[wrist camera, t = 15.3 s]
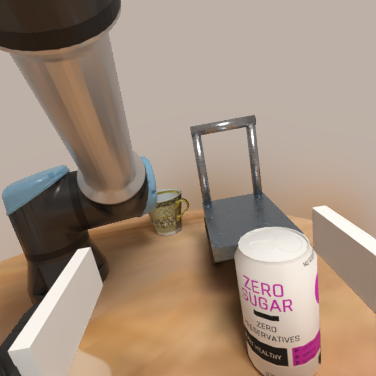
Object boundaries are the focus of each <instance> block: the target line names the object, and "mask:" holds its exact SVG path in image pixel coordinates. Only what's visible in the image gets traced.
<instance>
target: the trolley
mask: <svg viewBox="0 0 376 376" xmlns="http://www.w3.org/2000/svg"><path fill="white" fill-rule="evenodd" d="M255 125H256V118H255V116H254V115H252V116H246V117H241V118H235V119H230V120H224V121H219V122H214V123H208V124H203V125H198V126H192V127H190V129H191V135H192V140H193V146H194V152H195V157H196V163H197V169H198V175H199V181H200V186H201V192H202V198H203V203H202V204H203V210H204V215H205V217H204V222H205V228H206V234H207V239H208V245H209V250H210V255H211V260H212V264H213V263H218V262H224V261H225V260H230V259H234V254H235V252H236V250H237V248H238V242H239V240H240V238H241V237H242V236H243V235H245V234H246V233H248V232H250V231H253V230H255V229H259V228H264V227H283V228H289V229H293V230H296V231H298V232H300V233H302V234H303V232H302V231H301V230H300V229H299V228H298V227H297V226H296V225H295V224H294V223H293V222H292V221H291V220H290V219H289V218H288V217H287V216H286V215H285V214H284V213H282V211H281V210H280V209H279V208H278V207H277V206H276V205H275V204H274V203H273V202H272V201H271V200H270V199H269V198H268V197H267V196H266V195H265V194H264V193H263V192H262V187H261V177H260V168H259V158H258V148H257V139H256V129H255ZM242 127H246V130H247V139H248V147H249V157H250V166H251V174H252V182H253V192H254V194H249V195H243V196H237V197H231V198H226V199H220V200H215V201H211V196H210V190H209V184H208V178H207V172H206V165H205V159H204V153H203V147H202V141H201V135H204V134H210V133H215V132H221V131H226V130H231V129H237V128H242Z"/></svg>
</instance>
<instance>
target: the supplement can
mask: <svg viewBox="0 0 376 376" xmlns="http://www.w3.org/2000/svg"><path fill="white" fill-rule="evenodd" d="M234 259H235V266H236V273H237V280H238V287H239V293H240V300H241V307H242V314H243V321H244V328H245V335H246V341H247V348H248V355H249V357H250V359H251V361H252V363H253V365H254V366H255V367H256V368H257V369H258V370H259V371H260V372H261V373H262V374H263V375H264V376H314V375H315V374H316V373H317V371H318V369H319V367H320V365H321V341H320V317H319V292H318V268H317V254H316V253H315V251H314V250H313V248H312V247H311V246H310V243H309V240H308V239H307V237H306V236H305V235H303V234H302V233H300V232H298V231H296V230H293V229H289V228H283V227H264V228H259V229H255V230H253V231H250V232H248V233H246V234H245V235H243V236H242V237H241V238H240V240H239V242H238V248H237V250H236V252H235V254H234Z"/></svg>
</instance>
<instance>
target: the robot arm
mask: <svg viewBox="0 0 376 376" xmlns="http://www.w3.org/2000/svg"><path fill="white" fill-rule="evenodd" d="M120 12H121V1H120V0H0V50H2V51H5V52H9V53H10V55H11V56H12V58H13V60H14V61H15V63H16V65H17V66H18V68H19V70H20V71H21V73H22V75H23V76H24V78H25V80H26V81H27V83H28V85H29V86H30V88H31V89H32V91H33V93H34V95H35V96H36V98H37V100H38V101H39V103H40V105H41V106H42V108H43V110H44V111H45V113H46V115H47V116H48V118H49V120H50V121H51V123H52V125H53V126H54V128H55V129H56V131H57V133H58V134H59V136H60V138H61V140H62V141H63V143H64V145H65V146H66V148H67V150H68V151H69V153H70V154H71V156H72V158H73V159H74V161H75V163H76V164H77V166H78V171H73V172H69V169H68V168H67V167H66V166H65V165H62V166H58V167H54V168H51V169H48V170H45V171H42V172H39V173H36V174H34V175H31V176H29V177H27V178H24V179H21V180H19V181H17V182H14V183H12V184H10V185H9V186H7V187H6V188H5V189H4V190H3V193H2V198H3V202H4V205H5V208H6V211H7V212H6V214H7V215H8V216H9V219H10V221H11V223H12V226H13V228H14V231H15V233H16V235H17V238H18V240H19V242H20V245H21V247H22V249H23V252H24V254H25V257H26V259H27V262H28V294H29V296H30V298H31V301H32V303H33V304H34V306H33V307H31V308H30V309H29V310H28V311H27V312H26V313H25V314H24V315H23V316H22V318H21V319H20V321H19V322H18V325H16V326H15V327H14V329H13V330H12V333H10V334H9V336H8V337H7V338H6V340H5V341H4V342H3V344H2V345H1V347H0V376H67V374H68V371H69V369H70V366H71V364H72V361H73V359H74V356H75V354H76V352H77V349H78V347H79V344H80V342H81V339H82V337H83V334H84V332H85V329H86V327H87V324H88V322H89V320H90V317H91V315H92V312H93V310H94V307H95V305H96V302H97V300H98V297H99V295H100V292H101V290H102V288H103V283H102V282H103V281H104V280H105V278H106V277H107V275H108V272H109V267H108V264H107V261H106V258H105V256H104V255H103V254H102V253H101V251H100V250H99V249H98V248H97V246H96V245H95V244H94V242H93V241H92V240H91V239H90V236H89V233H88V229H92V228H96V227H100V226H103V225H107V224H111V223H115V222H119V221H123V220H127V219H130V218H134V217H141V216H143V215H144V214H147V213H151V212H152V211H154V209H155V208H156V205H157V192H156V182H155V177H154V173H153V169H152V166H151V164H150V162H149V160H148V159H147V158H146V157H140V156H139V155H138V154H137V153H136V152H134V151H133V150H132V145H131V141H130V136H129V131H128V126H127V122H126V116H125V111H124V106H123V102H122V97H121V92H120V87H119V82H118V77H117V72H116V68H115V63H114V58H113V53H112V48H111V43H110V38H109V34H108V32H109V30H111V29H112V27H113V26H114V25H115V24H116V22H117V20H118V18H119V15H120ZM312 220H313V249H314V250H315V251H316V252H317V253H318V254H319V255H320V256H321V257H322V258H323V260H324V261H325V262H326V263H327V264H328V265H329V266H330V267H331V268H332V269H333V270H334V271H335V272H336V273H337V274H338V275H339V276H340V277H341V278H342V279H343V280H344V282H345V283H346V284H347V285H348V286H349V287H350V288H351V289H352V290H353V291H354V292H355V293H356V294H357V295H358V296H359V297H360V298H361V299H362V300H363V301H364V302H365V303H366V305H367V306H368V307H369V308H370V309H371V310H372V311H373V312H374V313H375V314H376V239H374V238H373V237H372V236H370V235H368V234H367V233H366V232H364V231H363V230H361V229H360V228H358V227H357V226H355V225H354V224H352V223H351V222H349V221H348V220H346V219H345V218H343V217H342V216H340V215H339V214H337V213H336V212H334V211H333V210H331V209H330V208H328V207H327V206H319V207H314V208H312Z"/></svg>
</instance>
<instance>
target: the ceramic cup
mask: <svg viewBox="0 0 376 376" xmlns="http://www.w3.org/2000/svg"><path fill="white" fill-rule="evenodd" d="M156 192H157V205H156V208H155V209H154V211H152V212H151V213H148V214H149V216H150V218H151V220H152V222H153V224H154V227H155V229H156V231H157V234H158V235H161V236H170V235H174V234H177V233H178V232H179V231H180V230H181V229H182V226H181V216H182V215H183V213H184V212H185V211H186V210H187V209H188V208H189V203H188V201H187V200H186V199H183V198H182V199H181V191H180V190H178V189H165V190H160V191H156ZM181 201H183V202H185V203H186V204H187V208H186V209H185V210H184V211H183V212H182V213H181Z"/></svg>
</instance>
